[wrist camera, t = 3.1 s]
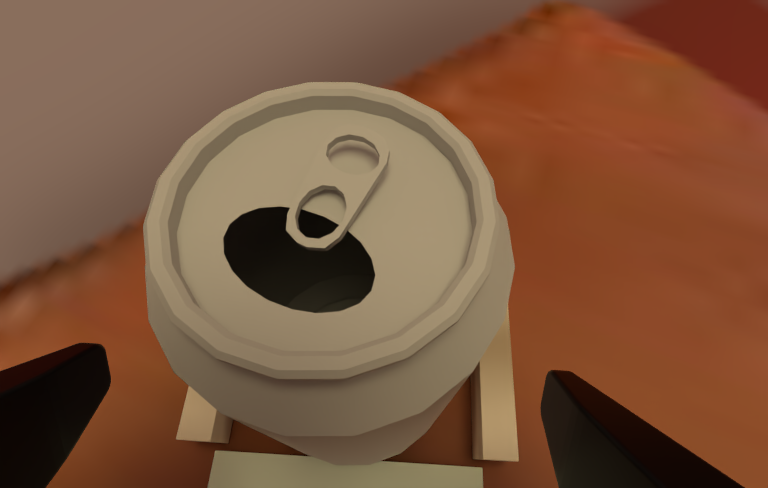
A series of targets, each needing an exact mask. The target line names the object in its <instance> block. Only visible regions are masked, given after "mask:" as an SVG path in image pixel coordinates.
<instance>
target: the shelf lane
mask: <svg viewBox="0 0 768 488" xmlns="http://www.w3.org/2000/svg"><path fill="white" fill-rule="evenodd" d="M509 235H510V229H509ZM470 384H471V420H472V456H473V459H478V460H493V461H519V456H518V442H517V428H516V413H515V399H514V385H513V370H512V356H511V342H510V327H509V313H508V305H507V310H506V315H505V320H504V322H503V323H502V325H501V327H500V328H499V330H498V332H497V333H496V335H495V336H494V338H493V340H492V341H491V343H490V345H489V346H488V348H487V350H486V351H485V353H484V354H483V356H482V358H481V359H480V361H479V363H478V364H477V366H476V368H475V369H474V371H473V372H472V374H471V375H470ZM232 423H233V419H231V418H229V417H227V416H225V415H223V414H221V413H220V412H219V411H217V410H216V409H215V408H214V407H213V406H212V405H211V404H209V403H208V402H207V401H206V400H205V399H204V398H203V397H201V396H200V395H199V394H198V393H197V392H196V391H195V390H194V389H192V388H191V387H190V386H189V388H188V392H187V396H186V400H185V404H184V408H183V412H182V416H181V420H180V424H179V428H178V433H177V437H176V439H177V440H187V441H198V442H213V443H229V438H230V433H231V428H232Z"/></svg>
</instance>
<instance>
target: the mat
mask: <svg viewBox="0 0 768 488" xmlns="http://www.w3.org/2000/svg"><path fill="white" fill-rule="evenodd" d="M207 488H483V470H482V468H481V467H466V466H450V465H435V464H419V463H404V462H389V461H379V462H376V463H373V464H371V465H334V464H331V463H329V462H326V461H323V460H320V459H318V458H315V457H311V456H296V455H280V454H265V453H249V452H234V451H218V450H215V454H214V458H213V463H212V468H211V473H210V478H209V483H208V487H207Z"/></svg>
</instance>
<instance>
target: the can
mask: <svg viewBox="0 0 768 488" xmlns="http://www.w3.org/2000/svg"><path fill="white" fill-rule="evenodd" d="M143 230H144V244H145V258H146V266H145V276H146V290H147V304H148V319H149V323H150V325H151V327H152V329H153V331H154V333H155V335H156V337H157V339H158V341H159V343H160V345H161V347H162V349H163V351H164V353H165V355H166V357H167V359H168V361H169V363H170V365H171V367H172V369H173V371H174V373H175V374H176V375H178V376H179V377H180V378H181V379H182V380H183V381H184V382H186V383H187V384H188V385H189V386H190V387H191V388H192V389H194V390H195V391H196V392H197V393H198V394H199V395H200V396H201V397H203V398H204V399H205V400H206V401H207V402H208V403H209V404H211V405H212V406H213V407H214V408H215V409H216V410H217V411H219V412H220V413H221V414H223V415H225V416H227V417H229V418H231V419H233V420H236V421H238V422H240V423H242V424H244V425H246V426H248V427H250V428H252V429H254V430H256V431H258V432H260V433H263V434H265V435H267V436H269V437H271V438H273V439H275V440H277V441H279V442H281V443H283V444H285V445H288V446H290V447H292V448H294V449H296V450H298V451H300V452H302V453H304V454H307V455H309V456H312V457H315V458H318V459H320V460H323V461H326V462H329V463H331V464H334V465H371V464H373V463H376V462H379V461H382V460H384V459H387V458H390V457H392V456H395V455H398V454H401V453H402V452H403V451H404V450H406V449H407V448H408V447H409V446H410V445H412V444H413V443H414V442H415V441H416V440H418V439H419V438H420V437H421V436H423V435H424V434H425V433H426V432H427V431H428V430H429V428H430V427H431V426H432V424H433V423H434V422H435V420H436V419H437V418H438V417H439V415H440V414H441V413H442V411H443V410H444V409H445V407H446V406H447V405H448V403H449V402H450V401H451V400H452V398H453V397H454V396H455V394H456V393H457V392H458V390H459V389H460V388H461V387H462V385H463V384H464V383H465V381H466V380H467V379H468V377H469V376H470V375H471V374H472V372H473V371H474V369H475V368H476V366H477V364H478V363H479V361H480V359H481V358H482V356H483V354H484V353H485V351H486V350H487V348H488V346H489V345H490V343H491V341H492V340H493V338H494V336H495V335H496V333H497V332H498V330H499V328H500V327H501V325H502V323H503V322H504V320H505V315H506V310H507V305H508V300H509V294H510V289H511V284H512V279H513V274H514V269H515V265H514V259H513V253H512V247H511V241H510V235H509V229H508V223H507V218H506V216H505V214H504V212H503V210H502V209H501V207H500V205H499V203H498V201H497V200H496V194H495V188H494V182H493V179H492V177H491V175H490V173H489V172H488V170H487V168H486V166H485V164H484V163H483V161H482V159H481V157H480V156H479V154H478V152H477V150H476V149H475V147H474V145H473V143H472V142H471V141H470V140H469V139H468V138H467V137H466V136H465V135H464V134H463V133H462V132H460V131H459V130H458V129H457V128H456V127H455V126H454V125H453V124H452V123H451V122H449V121H448V120H447V119H446V118H445V117H444V116H443V115H442V114H441V113H440V112H438V111H436V110H434V109H432V108H430V107H428V106H426V105H424V104H422V103H420V102H418V101H416V100H414V99H412V98H410V97H408V96H406V95H404V94H402V93H400V92H396V91H391V90H387V89H383V88H378V87H374V86H369V85H365V84H361V83H356V82H309V83H304V84H300V85H295V86H290V87H285V88H281V89H276V90H272V91H267V92H264V93H262V94H260V95H258V96H255V97H253V98H251V99H249V100H247V101H245V102H242V103H240V104H238V105H236V106H234V107H232V108H229V109H227V110H225V111H223V112H222V113H220V114H219V115H218V116H217V117H215V118H214V119H213V120H212V121H211V122H209V123H208V124H207V125H205V126H204V127H203V128H202V129H200V130H199V131H198V132H197V133H195V134H194V135H193V136H192V137H190V138H189V139H188V140H187V141H185V142H184V144H183V145H182V147H181V148H180V149H179V151H178V152H177V154H176V155H175V156H174V158H173V159H172V161H171V162H170V163H169V165H168V166H167V167H166V169H165V170H164V172H163V173H162V174H161V176H160V177H159V179H158V180H157V183H156V186H155V189H154V192H153V196H152V199H151V202H150V205H149V208H148V212H147V215H146V218H145V221H144V224H143Z"/></svg>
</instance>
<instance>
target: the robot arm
mask: <svg viewBox="0 0 768 488" xmlns="http://www.w3.org/2000/svg"><path fill="white" fill-rule="evenodd" d="M110 383H111V376H110V371H109V366H108V361H107V355H106V351H105V348H104V347H103V346H102V345H101V344H95V343H78V344H75V345H72V346H70V347H67V348H64V349H61V350H58V351H56V352H53V353H50V354H47V355H44V356H42V357H39V358H36V359H33V360H30V361H28V362H25V363H22V364H19V365H16V366H14V367H11V368H8V369H5V370H2V371H0V488H46V486H47V485H48V484H49V482H50V481H51V480H52V478H53V477H54V476H55V474H56V473H57V472H58V470H59V469H60V467H61V466H62V464H63V463H64V462H65V460H66V459H67V457H68V456H69V454H70V452H71V451H72V449H73V448H74V446H75V444H76V443H77V441H78V440H79V438H80V436H81V435H82V433H83V431H84V430H85V428H86V426H87V425H88V423H89V421H90V420H91V418H92V416H93V415H94V413H95V411H96V410H97V408H98V406H99V405H100V403H101V401H102V400H103V398H104V397H105V395H106V393H107V391H108V389H109V387H110ZM541 417H542V421H543V425H544V429H545V433H546V437H547V441H548V446H549V450H550V454H551V458H552V462H553V466H554V470H555V474H556V478H557V482H558V486H559V488H745V487H743V486H742V485H740V484H739V483H737V482H736V481H734V480H733V479H731V478H730V477H728V476H727V475H725V474H724V473H722V472H721V471H719V470H718V469H716V468H715V467H713V466H712V465H710V464H709V463H707V462H706V461H704V460H703V459H701V458H700V457H698V456H697V455H695V454H694V453H692V452H691V451H689V450H688V449H686V448H685V447H683V446H682V445H680V444H679V443H677V442H676V441H674V440H673V439H671V438H670V437H668V436H667V435H665V434H664V433H662V432H661V431H659V430H658V429H656V428H655V427H653V426H652V425H650V424H649V423H647V422H646V421H644V420H643V419H641V418H640V417H638V416H637V415H635V414H634V413H632V412H631V411H629V410H628V409H626V408H625V407H623V406H622V405H620V404H619V403H617V402H616V401H614V400H613V399H611V398H610V397H608V396H607V395H605V394H604V393H602V392H601V391H599V390H598V389H596V388H595V387H593V386H592V385H590V384H589V383H587V382H586V381H584V380H583V379H581V378H580V377H578V376H577V375H575V374H574V373H572V372H570V371H561V370H551V371H549V372H548V374H547V376H546V380H545V386H544V391H543V396H542V401H541Z"/></svg>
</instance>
